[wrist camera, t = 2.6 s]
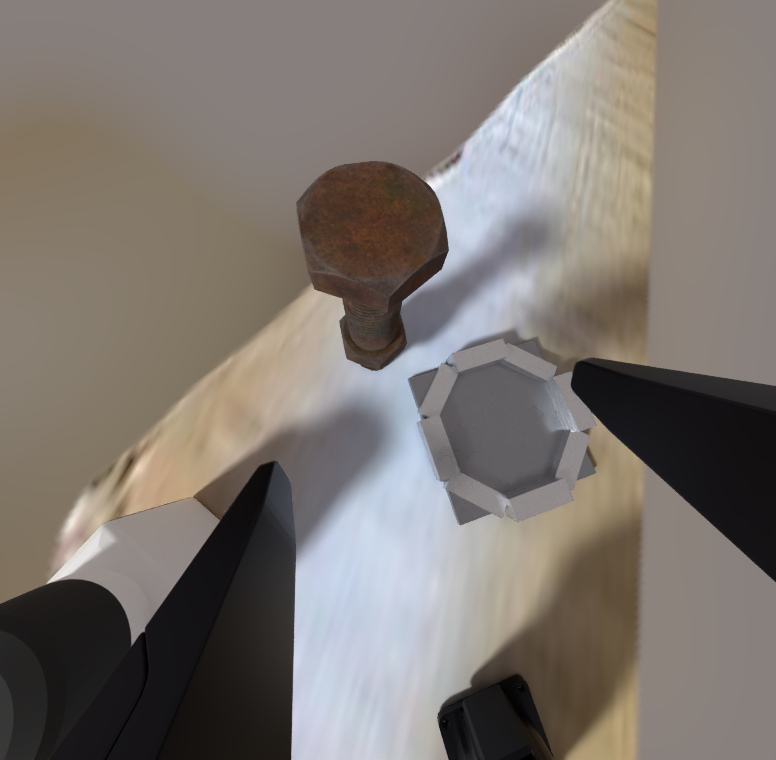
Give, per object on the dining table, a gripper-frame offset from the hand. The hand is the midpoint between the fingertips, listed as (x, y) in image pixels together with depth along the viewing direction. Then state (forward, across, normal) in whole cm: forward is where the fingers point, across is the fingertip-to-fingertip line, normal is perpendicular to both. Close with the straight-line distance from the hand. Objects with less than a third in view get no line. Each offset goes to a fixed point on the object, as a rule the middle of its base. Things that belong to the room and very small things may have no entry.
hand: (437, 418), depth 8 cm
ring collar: (+9, -8, +12) cm, 17 cm away
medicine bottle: (+8, +17, +14) cm, 23 cm away
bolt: (+16, 0, +6) cm, 17 cm away
